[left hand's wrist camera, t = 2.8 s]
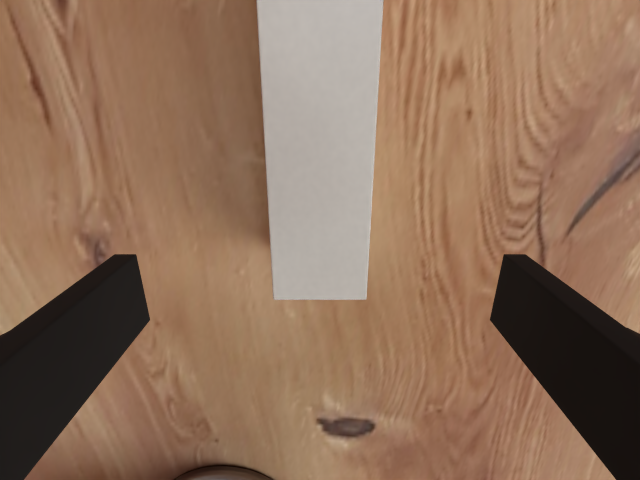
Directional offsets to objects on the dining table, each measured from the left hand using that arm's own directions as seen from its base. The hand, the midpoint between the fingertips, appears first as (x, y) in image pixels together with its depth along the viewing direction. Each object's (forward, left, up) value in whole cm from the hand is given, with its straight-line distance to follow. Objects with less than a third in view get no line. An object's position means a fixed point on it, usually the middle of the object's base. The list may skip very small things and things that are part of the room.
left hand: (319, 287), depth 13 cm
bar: (+7, +23, -14) cm, 28 cm away
